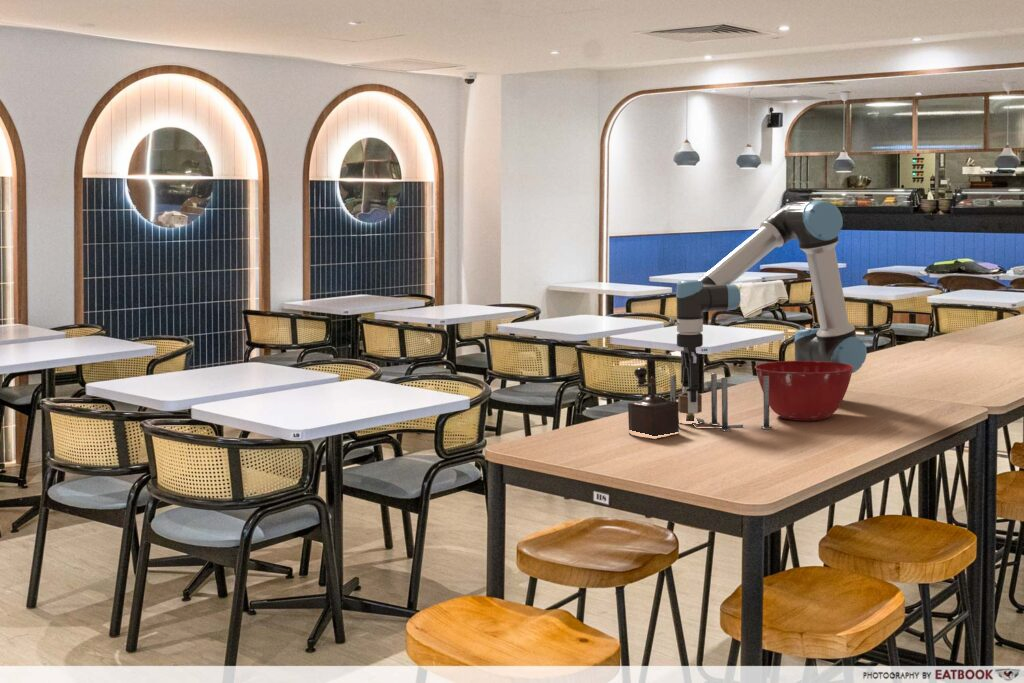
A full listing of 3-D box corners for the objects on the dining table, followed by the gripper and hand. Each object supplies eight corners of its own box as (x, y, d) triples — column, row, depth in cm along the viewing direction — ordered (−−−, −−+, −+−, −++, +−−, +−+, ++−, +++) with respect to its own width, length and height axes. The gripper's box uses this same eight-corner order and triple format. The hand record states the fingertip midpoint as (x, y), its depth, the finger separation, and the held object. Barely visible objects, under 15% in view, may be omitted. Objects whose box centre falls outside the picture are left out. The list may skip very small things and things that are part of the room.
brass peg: (674, 420, 342) (674, 401, 342) (700, 419, 343) (700, 400, 342) (679, 425, 334) (679, 406, 334) (706, 424, 335) (706, 404, 334)
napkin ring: (676, 409, 341) (676, 393, 340) (698, 409, 341) (698, 392, 341) (681, 413, 335) (681, 396, 334) (703, 413, 335) (703, 396, 334)
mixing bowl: (768, 406, 360) (767, 358, 358) (861, 411, 347) (861, 360, 345) (744, 422, 335) (743, 370, 333) (844, 428, 322) (844, 374, 320)
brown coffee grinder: (681, 434, 323) (680, 370, 320) (654, 440, 316) (653, 375, 313) (642, 426, 335) (640, 365, 332) (614, 432, 328) (613, 370, 325)
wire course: (667, 425, 335) (666, 374, 333) (762, 421, 336) (761, 370, 334) (675, 433, 323) (674, 381, 322) (773, 429, 325) (773, 376, 323)
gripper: (670, 329, 345) (670, 405, 347) (684, 337, 325) (684, 417, 328) (695, 329, 345) (695, 404, 348) (710, 336, 326) (710, 416, 329)
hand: (690, 410), depth 338 cm, fingers closed on napkin ring, 6 cm apart
